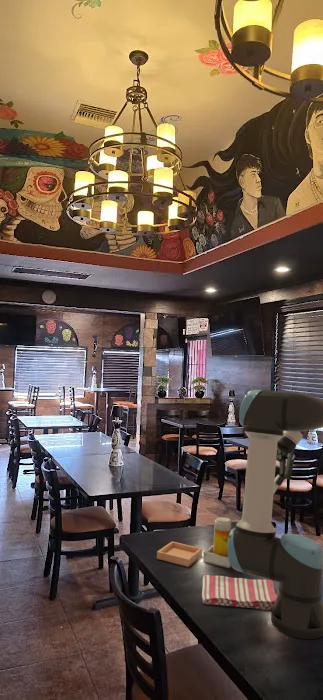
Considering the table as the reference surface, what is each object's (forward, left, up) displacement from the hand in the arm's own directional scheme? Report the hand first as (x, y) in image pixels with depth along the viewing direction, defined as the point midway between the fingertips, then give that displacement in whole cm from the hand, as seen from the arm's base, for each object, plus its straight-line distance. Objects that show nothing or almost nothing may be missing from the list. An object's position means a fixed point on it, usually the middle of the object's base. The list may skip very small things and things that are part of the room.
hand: (258, 485), depth 181 cm
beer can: (-9, +10, -27) cm, 31 cm away
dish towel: (-31, -4, -28) cm, 42 cm away
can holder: (-9, +10, -27) cm, 30 cm away
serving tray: (-15, +24, -27) cm, 39 cm away
